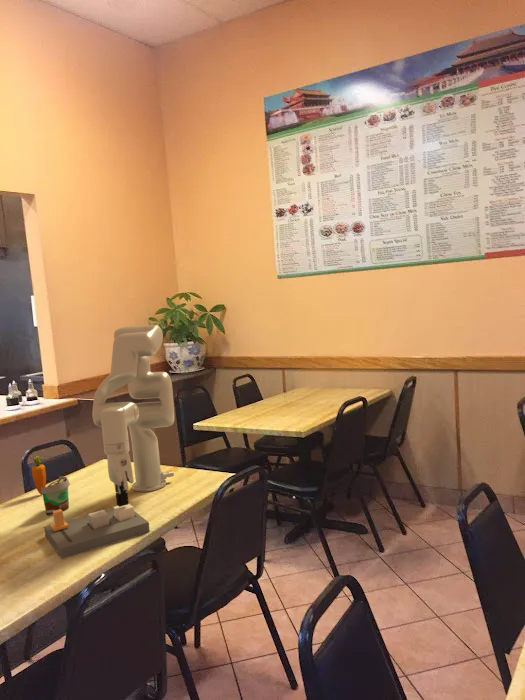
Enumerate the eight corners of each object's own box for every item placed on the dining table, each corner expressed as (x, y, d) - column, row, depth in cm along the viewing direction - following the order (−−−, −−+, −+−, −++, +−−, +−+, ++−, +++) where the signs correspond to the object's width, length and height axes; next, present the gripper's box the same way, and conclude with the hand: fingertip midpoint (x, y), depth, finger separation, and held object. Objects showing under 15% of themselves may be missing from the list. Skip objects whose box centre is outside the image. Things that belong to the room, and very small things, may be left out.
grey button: (104, 522, 182) (103, 509, 182) (109, 526, 178) (108, 514, 178) (89, 526, 180) (87, 514, 179) (94, 531, 176) (92, 518, 175)
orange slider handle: (65, 523, 180) (63, 507, 180) (68, 527, 177) (66, 510, 177) (50, 527, 178) (48, 511, 177) (53, 531, 175) (51, 514, 174)
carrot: (36, 493, 222) (32, 454, 220) (50, 491, 222) (45, 453, 221) (32, 497, 217) (27, 458, 216) (46, 496, 218) (41, 457, 216)
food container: (60, 516, 196) (57, 487, 195) (44, 516, 197) (40, 487, 196) (79, 502, 208) (75, 475, 207) (63, 502, 209) (60, 475, 208)
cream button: (129, 515, 187) (128, 502, 186) (134, 519, 183) (133, 507, 182) (114, 519, 184) (113, 507, 184) (119, 523, 180) (118, 511, 180)
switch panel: (126, 513, 194) (125, 504, 194) (149, 531, 177) (148, 521, 177) (45, 536, 180) (44, 526, 180) (61, 558, 163) (60, 548, 163)
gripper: (137, 449, 176) (143, 508, 178) (120, 440, 189) (126, 495, 191) (112, 454, 172) (119, 514, 174) (97, 445, 185) (103, 501, 187)
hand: (122, 504), depth 183 cm, fingers closed
